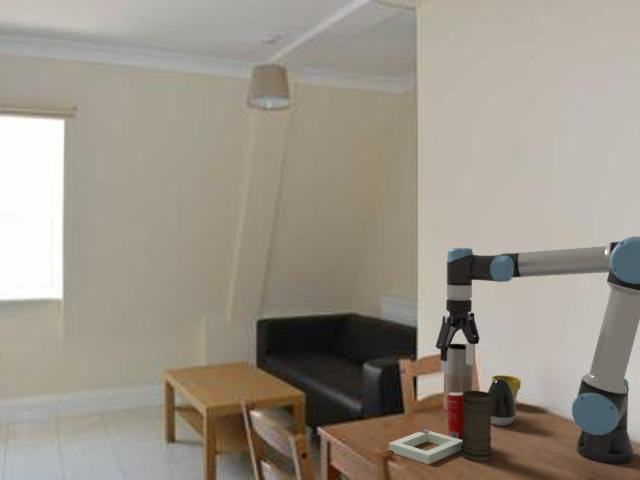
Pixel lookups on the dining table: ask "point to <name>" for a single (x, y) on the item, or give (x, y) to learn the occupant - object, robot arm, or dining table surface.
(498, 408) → the dark grey domed cylinder
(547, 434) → the dining table surface
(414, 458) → the socket block
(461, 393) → the beverage can
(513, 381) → the plant pot
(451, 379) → the planter
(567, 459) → the dining table surface
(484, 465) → the dining table surface
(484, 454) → the container
